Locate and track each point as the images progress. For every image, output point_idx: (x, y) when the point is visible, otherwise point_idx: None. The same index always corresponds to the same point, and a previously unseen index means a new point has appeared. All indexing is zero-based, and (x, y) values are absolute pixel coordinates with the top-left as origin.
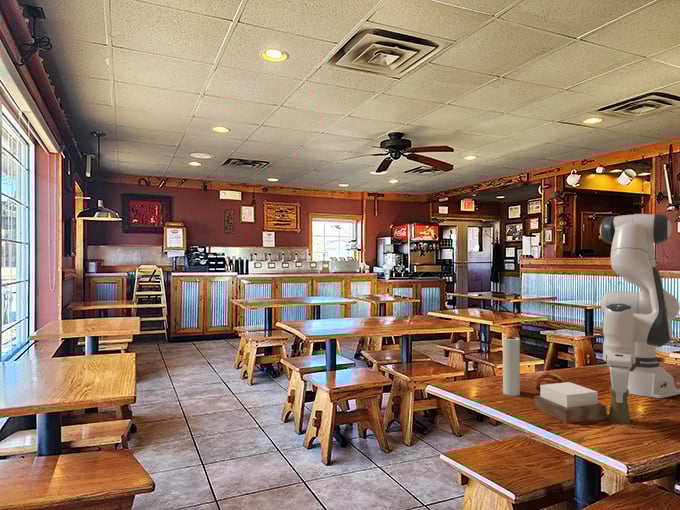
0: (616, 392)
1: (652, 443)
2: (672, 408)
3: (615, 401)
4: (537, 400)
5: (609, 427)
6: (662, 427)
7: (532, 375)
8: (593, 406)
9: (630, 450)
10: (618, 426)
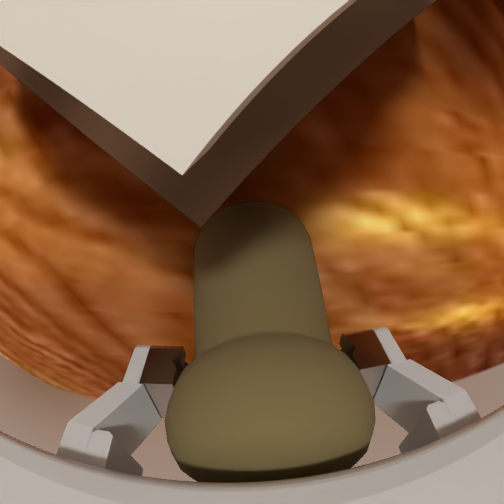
0: (78, 422)
1: (52, 355)
2: (470, 373)
3: (196, 328)
4: None
5: (88, 223)
6: None
7: None
8: (104, 130)
9: None
10: (136, 260)
